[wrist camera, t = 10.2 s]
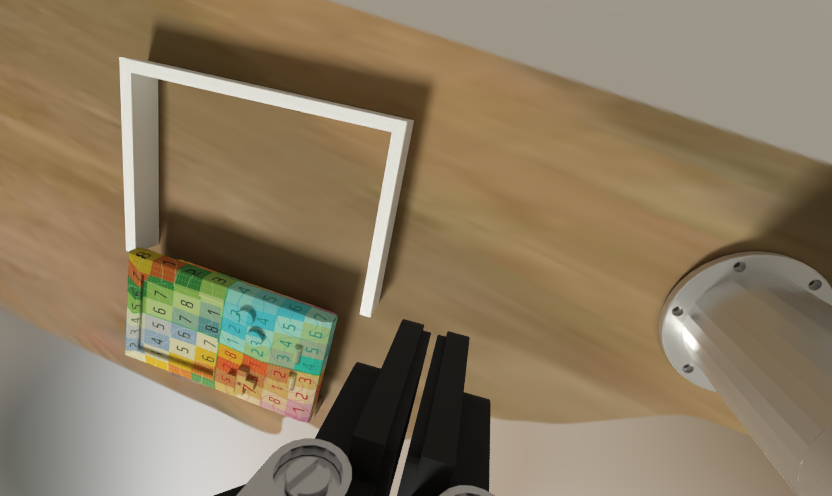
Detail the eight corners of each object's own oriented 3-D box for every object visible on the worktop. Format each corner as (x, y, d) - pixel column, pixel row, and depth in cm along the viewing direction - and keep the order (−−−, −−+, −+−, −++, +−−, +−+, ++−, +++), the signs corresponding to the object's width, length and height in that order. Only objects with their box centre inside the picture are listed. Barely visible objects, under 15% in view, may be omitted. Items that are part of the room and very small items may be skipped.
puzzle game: (305, 429, 41) (117, 359, 43) (323, 397, 46) (152, 335, 47) (329, 327, 37) (120, 254, 38) (347, 303, 42) (159, 238, 43)
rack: (414, 120, 35) (407, 121, 32) (378, 302, 41) (370, 317, 38) (147, 60, 37) (119, 56, 35) (150, 241, 43) (126, 250, 40)
